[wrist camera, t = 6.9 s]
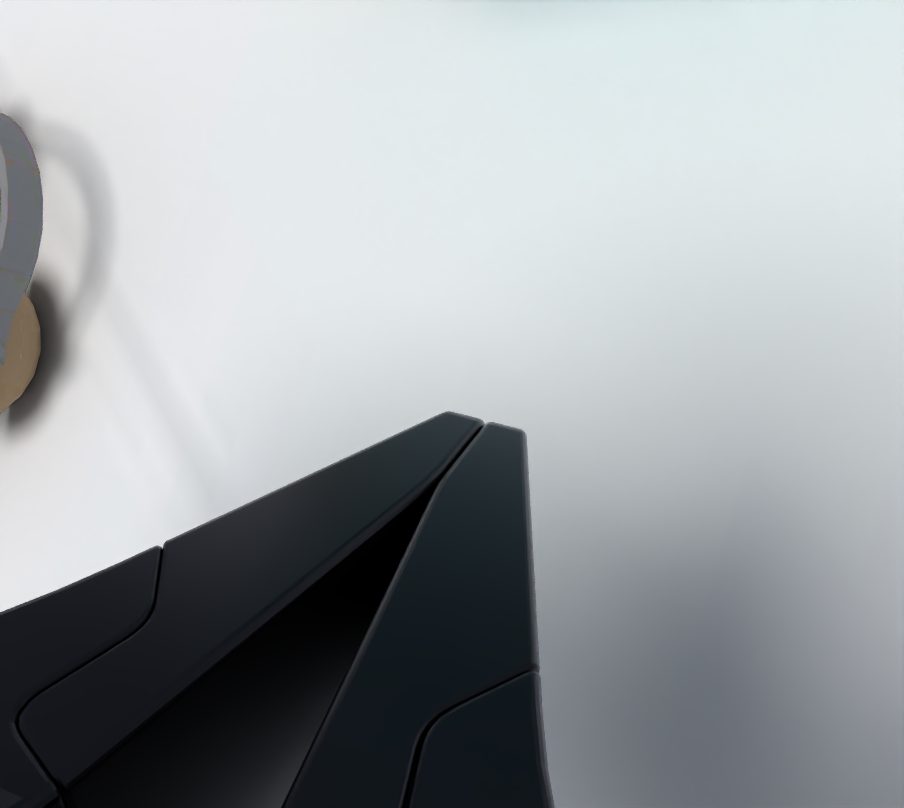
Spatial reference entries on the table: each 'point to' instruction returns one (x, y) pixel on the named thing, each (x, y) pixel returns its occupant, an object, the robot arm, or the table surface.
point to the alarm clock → (18, 260)
